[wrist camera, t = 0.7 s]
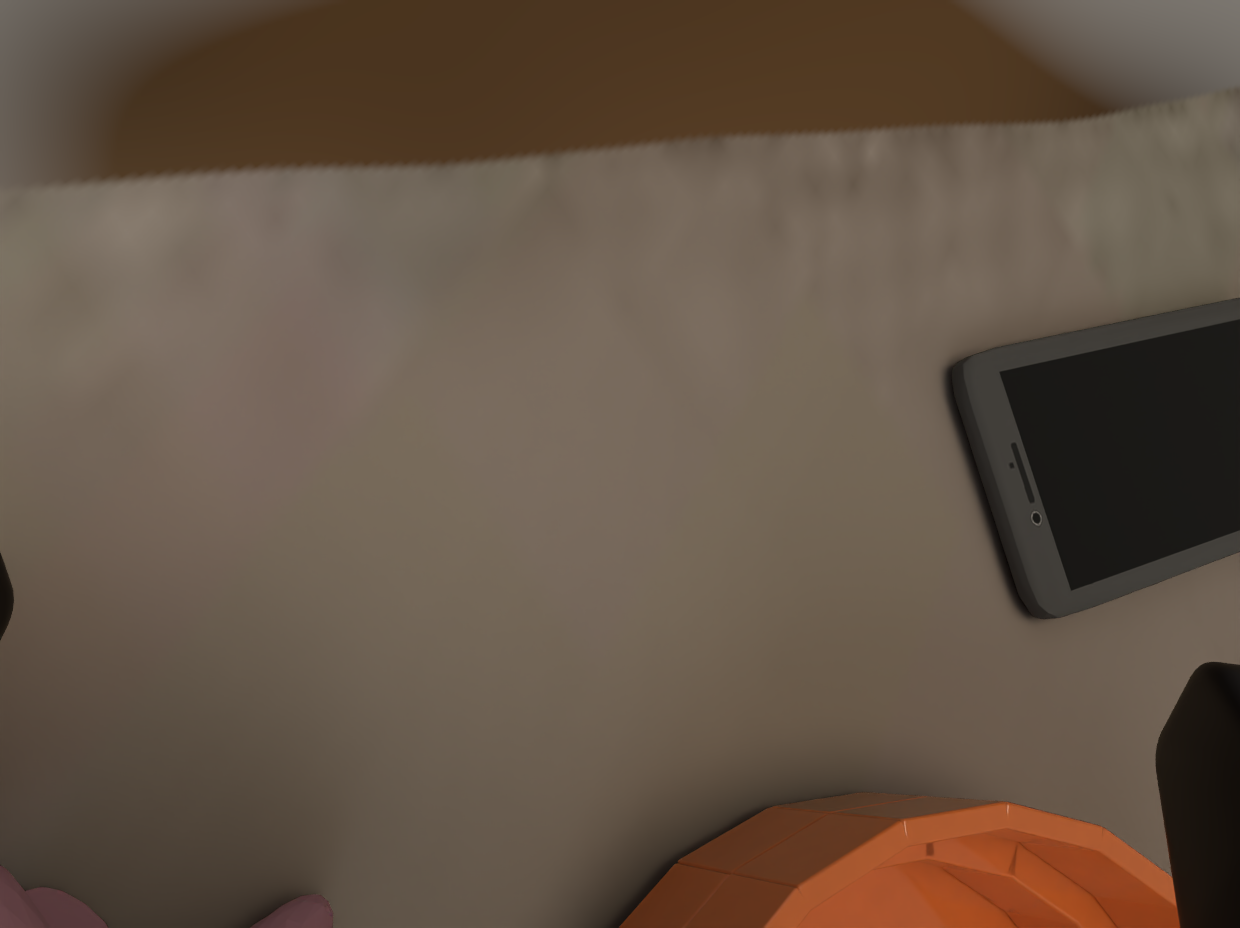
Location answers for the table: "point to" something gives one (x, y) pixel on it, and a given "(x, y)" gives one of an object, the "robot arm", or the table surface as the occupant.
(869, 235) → the table surface
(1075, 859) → the orange mixing bowl
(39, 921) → the video game controller
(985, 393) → the cell phone
